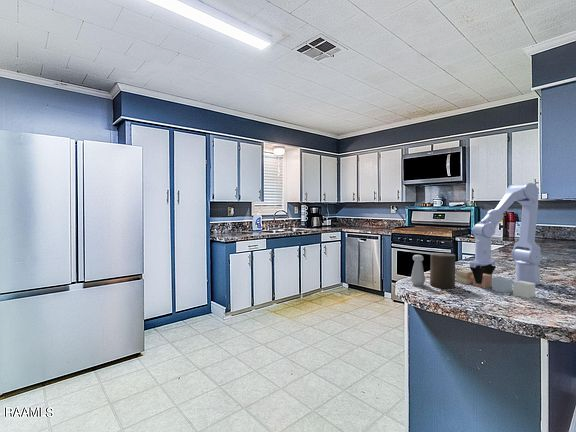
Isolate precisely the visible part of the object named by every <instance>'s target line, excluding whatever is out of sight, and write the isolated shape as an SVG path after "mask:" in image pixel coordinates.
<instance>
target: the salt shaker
mask: <svg viewBox="0 0 576 432" xmlns="http://www.w3.org/2000/svg"><path fill="white" fill-rule="evenodd" d="M412 260H413V261H414V263H413V266H412V270H411V274H410V275H411V276H410V281H411V284H412V285H413V286H416V287H422V286H424V284H425V282H426V276H425V271H424V265H423V261H424V256H423V255H421V254H414V255H413V256H412Z"/></svg>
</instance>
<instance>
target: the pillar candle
mask: <svg viewBox="0 0 576 432" xmlns="http://www.w3.org/2000/svg"><path fill="white" fill-rule="evenodd" d="M429 268H430V273H429V274H430V275H429V277H430V278H429V283H430V284H429V285H430V286H432V287H435V288H438V289H448V290H450V289H454V288H455V287H456V254H454V253H444V251H442V252H432V253H430V267H429Z"/></svg>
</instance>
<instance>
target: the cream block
mask: <svg viewBox="0 0 576 432" xmlns="http://www.w3.org/2000/svg"><path fill="white" fill-rule="evenodd" d="M512 295H514V296H517V297H522V298H525V299H530V298H534V297H536V285H535V283H530V282H525V281H517V282H514V283H513V282H512Z"/></svg>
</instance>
